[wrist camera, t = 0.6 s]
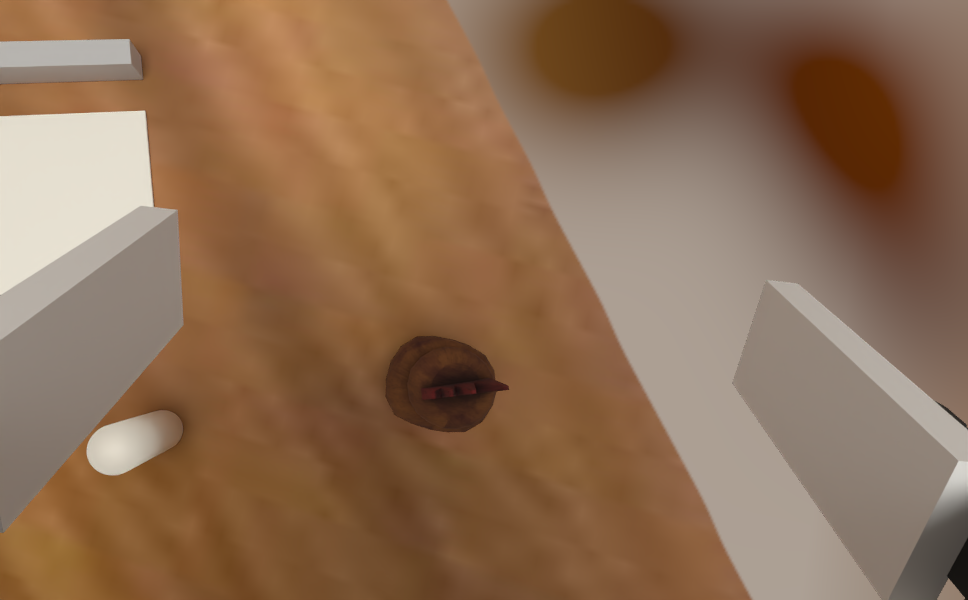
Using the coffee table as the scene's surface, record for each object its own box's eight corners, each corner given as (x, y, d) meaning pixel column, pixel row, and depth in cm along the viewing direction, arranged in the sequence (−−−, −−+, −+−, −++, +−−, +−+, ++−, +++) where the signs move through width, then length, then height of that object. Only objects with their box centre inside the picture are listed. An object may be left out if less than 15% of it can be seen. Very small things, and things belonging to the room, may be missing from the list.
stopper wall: (143, 79, 45) (131, 63, 43) (-99, 87, 42) (-126, 70, 40) (141, 56, 45) (129, 39, 43) (-100, 62, 42) (-128, 44, 40)
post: (184, 447, 44) (143, 471, 35) (141, 453, 43) (88, 478, 35) (181, 407, 44) (139, 420, 35) (138, 412, 43) (84, 427, 35)
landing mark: (164, 321, 44) (163, 321, 44) (-82, 345, 41) (-84, 345, 41) (145, 111, 45) (145, 110, 45) (-96, 121, 42) (-98, 120, 42)
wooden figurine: (487, 353, 48) (548, 352, 34) (467, 432, 48) (520, 468, 33) (395, 328, 47) (416, 317, 32) (373, 409, 46) (384, 435, 32)
